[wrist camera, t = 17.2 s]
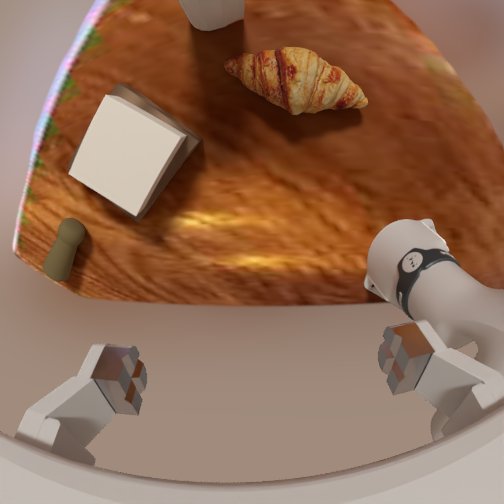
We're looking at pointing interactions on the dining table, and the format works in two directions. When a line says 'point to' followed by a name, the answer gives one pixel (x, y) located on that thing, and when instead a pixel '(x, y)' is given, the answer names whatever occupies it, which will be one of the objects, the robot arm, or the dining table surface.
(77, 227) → the olive green pawn
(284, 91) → the croissant
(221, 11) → the paper towel roll
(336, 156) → the dining table surface
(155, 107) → the tower base block
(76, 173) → the tower top block
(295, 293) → the dining table surface
